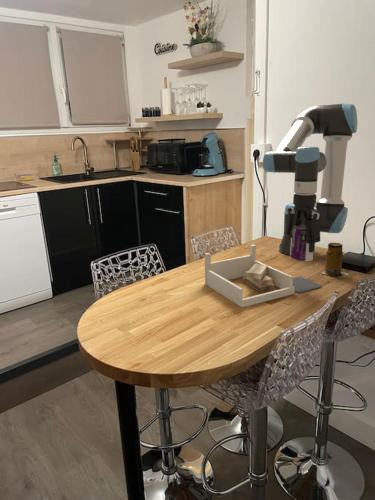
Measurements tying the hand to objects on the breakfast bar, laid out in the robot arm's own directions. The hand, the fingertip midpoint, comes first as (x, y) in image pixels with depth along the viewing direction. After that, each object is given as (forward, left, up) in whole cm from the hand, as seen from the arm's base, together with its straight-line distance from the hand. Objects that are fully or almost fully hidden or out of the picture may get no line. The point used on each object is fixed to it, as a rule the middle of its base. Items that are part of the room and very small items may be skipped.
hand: (301, 257), depth 137 cm
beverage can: (0, 0, -1) cm, 1 cm away
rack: (+18, -7, -11) cm, 22 cm away
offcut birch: (+13, -7, -6) cm, 17 cm away
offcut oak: (+13, -7, -9) cm, 17 cm away
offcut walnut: (+13, -7, -11) cm, 19 cm away
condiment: (-20, -2, -11) cm, 23 cm away
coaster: (0, 0, -11) cm, 11 cm away
